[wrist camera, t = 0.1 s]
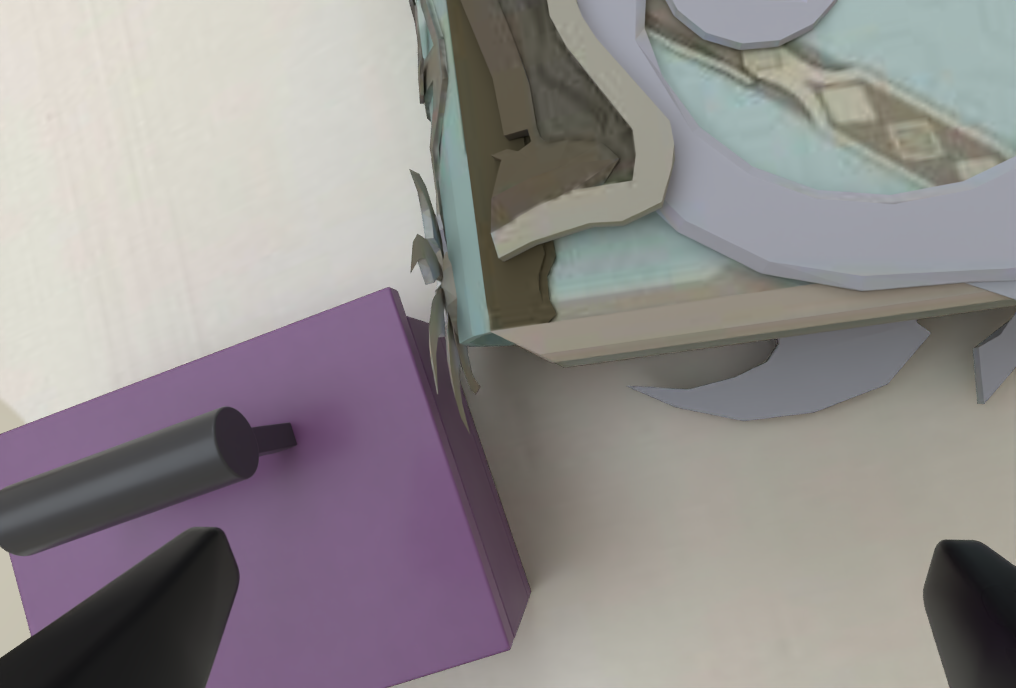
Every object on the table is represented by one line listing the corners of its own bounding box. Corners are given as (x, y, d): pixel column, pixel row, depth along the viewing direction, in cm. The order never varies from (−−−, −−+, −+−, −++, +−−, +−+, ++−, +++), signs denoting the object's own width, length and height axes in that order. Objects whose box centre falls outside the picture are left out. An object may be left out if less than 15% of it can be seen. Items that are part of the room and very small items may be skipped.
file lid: (0, 439, 22) (-177, 456, 17) (397, 289, 20) (330, 260, 15) (89, 770, 21) (-71, 891, 16) (514, 639, 19) (483, 728, 14)
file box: (106, 450, 26) (8, 463, 22) (441, 326, 25) (406, 315, 20) (178, 703, 25) (91, 769, 21) (531, 592, 24) (515, 638, 19)
